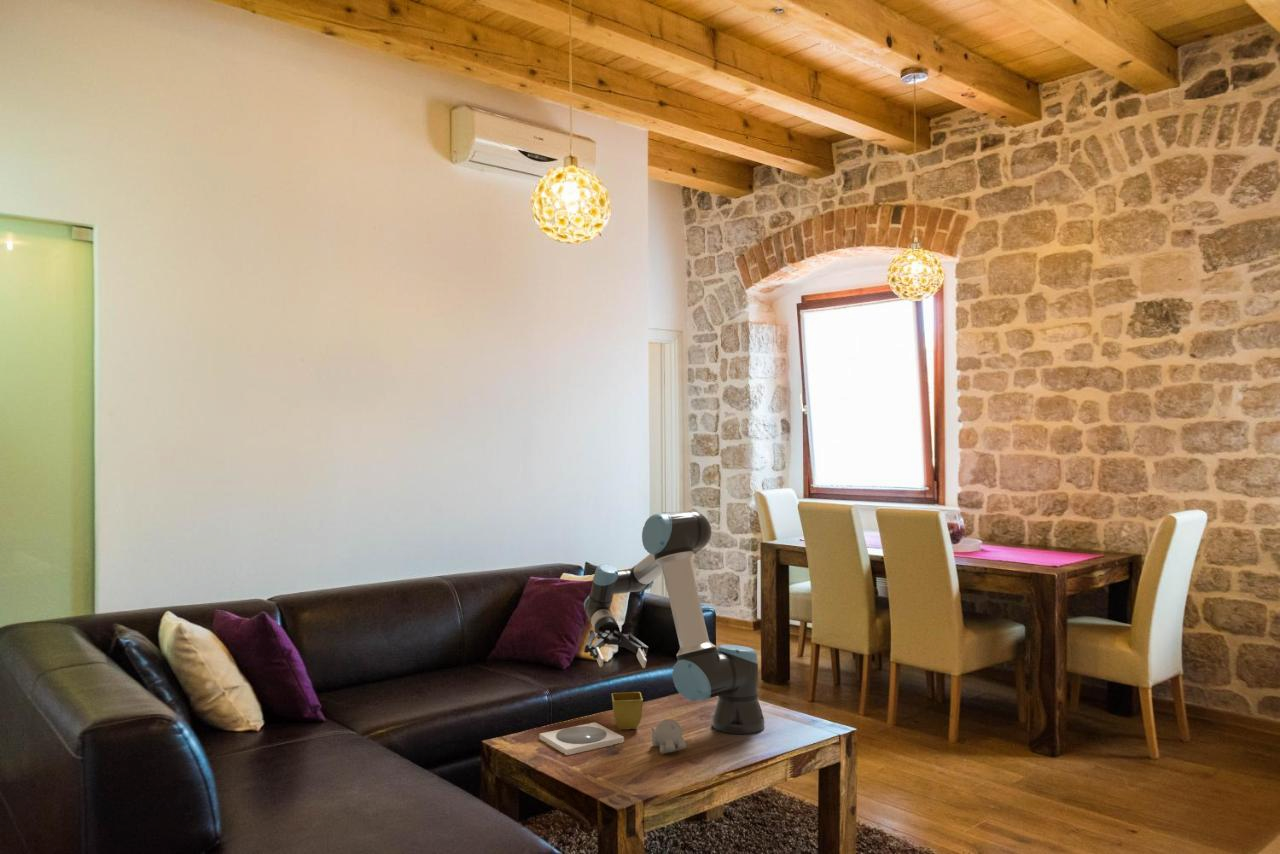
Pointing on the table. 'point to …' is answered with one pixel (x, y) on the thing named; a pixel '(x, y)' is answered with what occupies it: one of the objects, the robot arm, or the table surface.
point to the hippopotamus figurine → (668, 736)
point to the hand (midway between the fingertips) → (623, 663)
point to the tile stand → (581, 738)
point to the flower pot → (627, 709)
